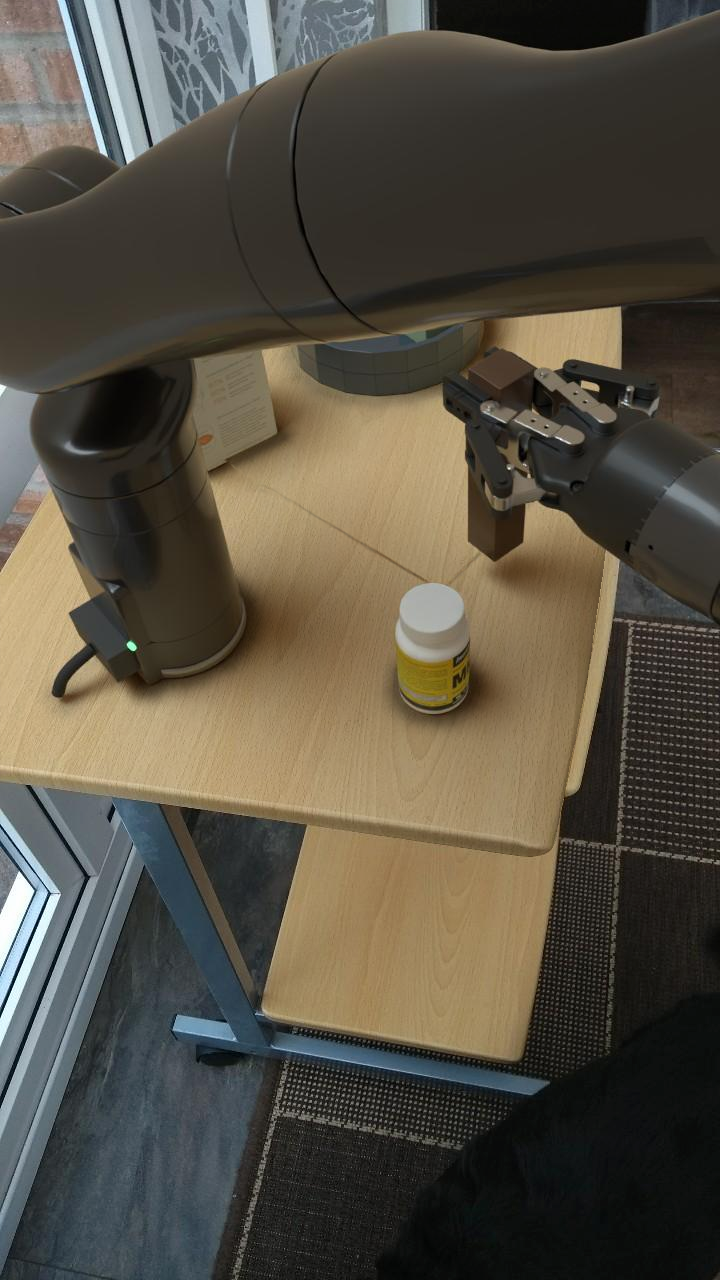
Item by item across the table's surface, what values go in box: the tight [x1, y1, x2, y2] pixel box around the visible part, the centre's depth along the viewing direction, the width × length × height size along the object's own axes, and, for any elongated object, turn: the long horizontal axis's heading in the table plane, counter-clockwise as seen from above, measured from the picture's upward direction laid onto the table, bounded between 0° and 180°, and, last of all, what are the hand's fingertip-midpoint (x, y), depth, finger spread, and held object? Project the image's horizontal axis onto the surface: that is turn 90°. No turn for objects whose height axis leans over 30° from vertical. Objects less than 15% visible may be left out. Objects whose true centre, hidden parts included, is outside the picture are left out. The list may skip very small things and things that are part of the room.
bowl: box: [290, 321, 485, 397], centre depth 90 cm, size 17×17×5 cm
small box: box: [193, 350, 278, 472], centre depth 80 cm, size 8×6×13 cm
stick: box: [467, 347, 535, 563], centre depth 66 cm, size 3×3×15 cm
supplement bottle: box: [394, 582, 471, 715], centre depth 65 cm, size 5×5×8 cm
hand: (467, 373), depth 63 cm, fingers closed on stick, 2 cm apart
